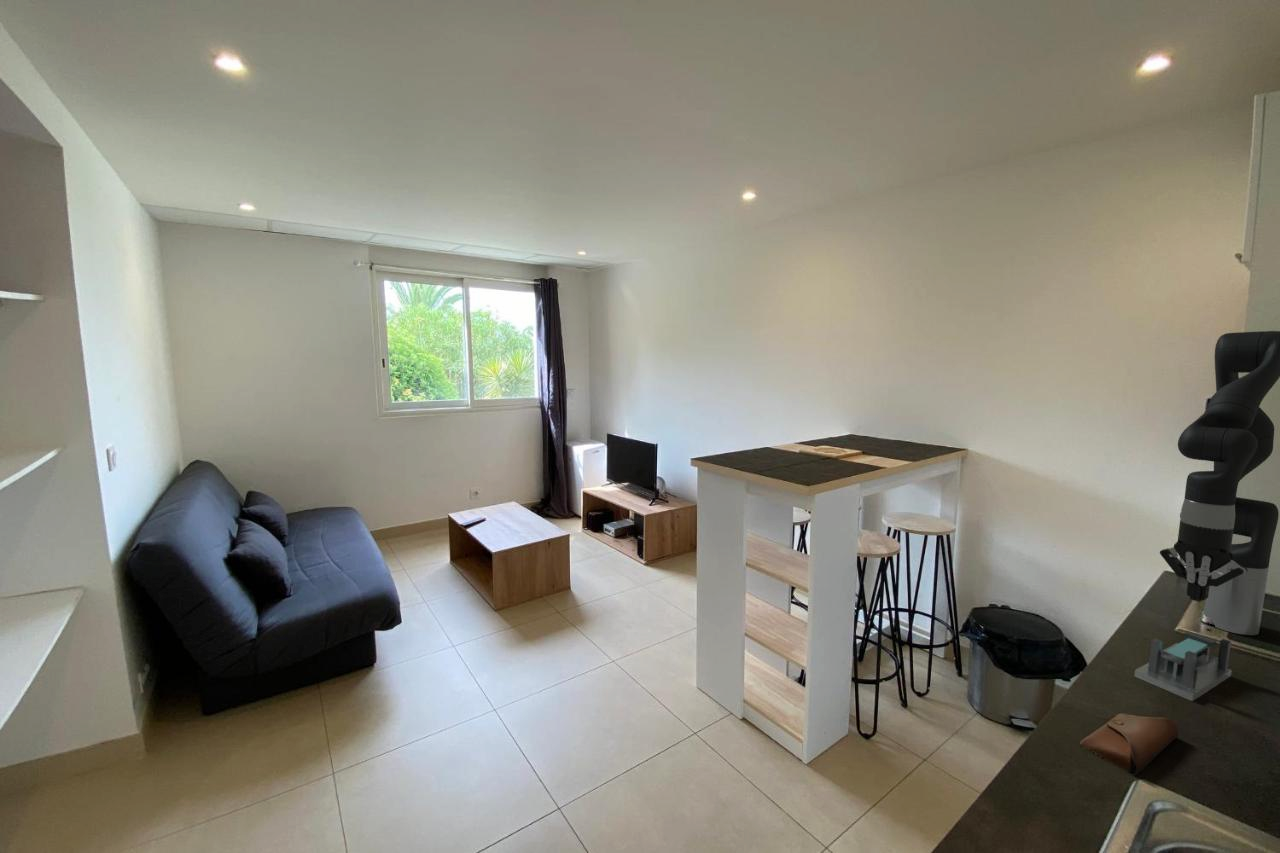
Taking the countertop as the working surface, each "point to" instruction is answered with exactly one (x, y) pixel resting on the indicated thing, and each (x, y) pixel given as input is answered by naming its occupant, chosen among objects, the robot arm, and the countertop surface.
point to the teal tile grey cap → (1187, 647)
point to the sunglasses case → (1132, 740)
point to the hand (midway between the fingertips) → (1196, 599)
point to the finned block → (1186, 670)
